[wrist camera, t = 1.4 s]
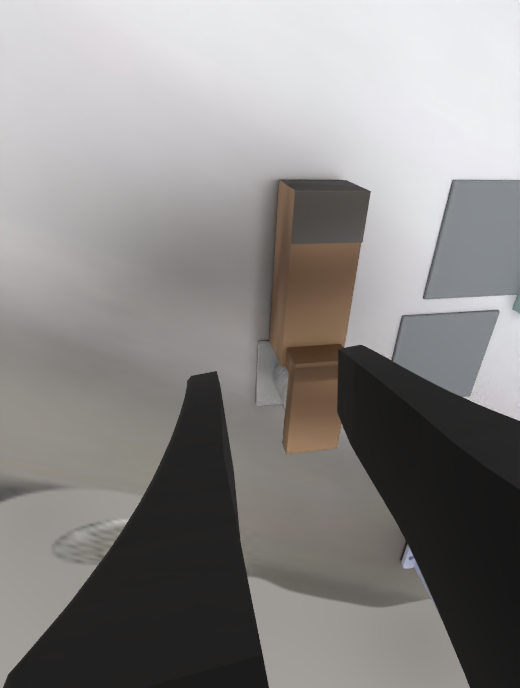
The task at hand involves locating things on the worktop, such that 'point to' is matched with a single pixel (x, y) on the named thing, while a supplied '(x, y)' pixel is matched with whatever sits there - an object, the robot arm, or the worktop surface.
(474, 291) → the seat pad
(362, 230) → the leg
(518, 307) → the block
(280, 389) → the flanged metal stem
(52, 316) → the worktop surface
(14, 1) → the worktop surface
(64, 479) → the worktop surface
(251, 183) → the worktop surface
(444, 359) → the foot pad
